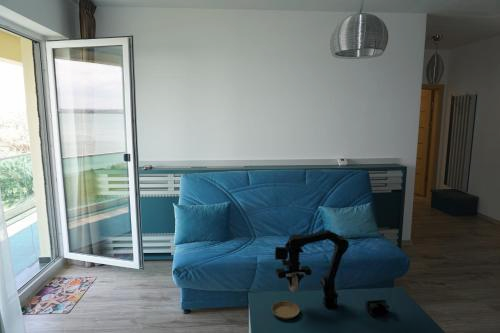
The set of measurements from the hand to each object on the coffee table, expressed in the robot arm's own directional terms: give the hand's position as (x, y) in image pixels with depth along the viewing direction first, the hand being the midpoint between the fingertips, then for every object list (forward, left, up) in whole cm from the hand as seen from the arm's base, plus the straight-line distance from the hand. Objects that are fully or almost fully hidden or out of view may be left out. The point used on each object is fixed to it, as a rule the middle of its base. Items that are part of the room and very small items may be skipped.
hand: (293, 286), depth 180 cm
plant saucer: (+6, +5, -12) cm, 14 cm away
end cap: (-40, +18, -12) cm, 45 cm away
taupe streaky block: (0, 0, -2) cm, 2 cm away
